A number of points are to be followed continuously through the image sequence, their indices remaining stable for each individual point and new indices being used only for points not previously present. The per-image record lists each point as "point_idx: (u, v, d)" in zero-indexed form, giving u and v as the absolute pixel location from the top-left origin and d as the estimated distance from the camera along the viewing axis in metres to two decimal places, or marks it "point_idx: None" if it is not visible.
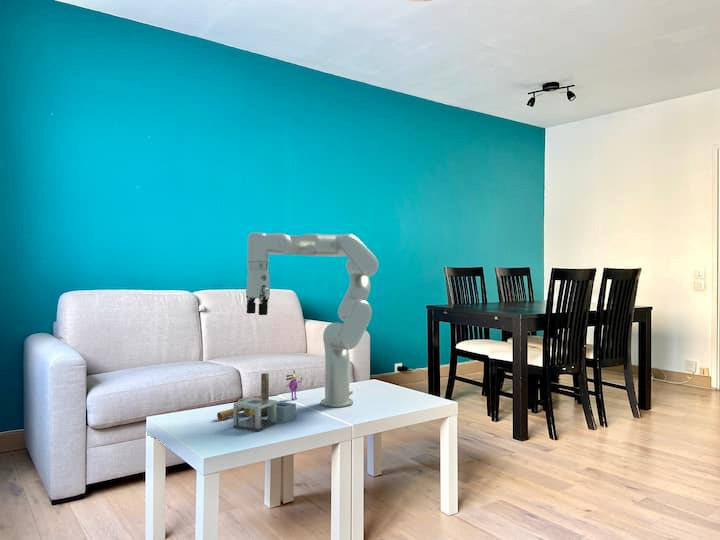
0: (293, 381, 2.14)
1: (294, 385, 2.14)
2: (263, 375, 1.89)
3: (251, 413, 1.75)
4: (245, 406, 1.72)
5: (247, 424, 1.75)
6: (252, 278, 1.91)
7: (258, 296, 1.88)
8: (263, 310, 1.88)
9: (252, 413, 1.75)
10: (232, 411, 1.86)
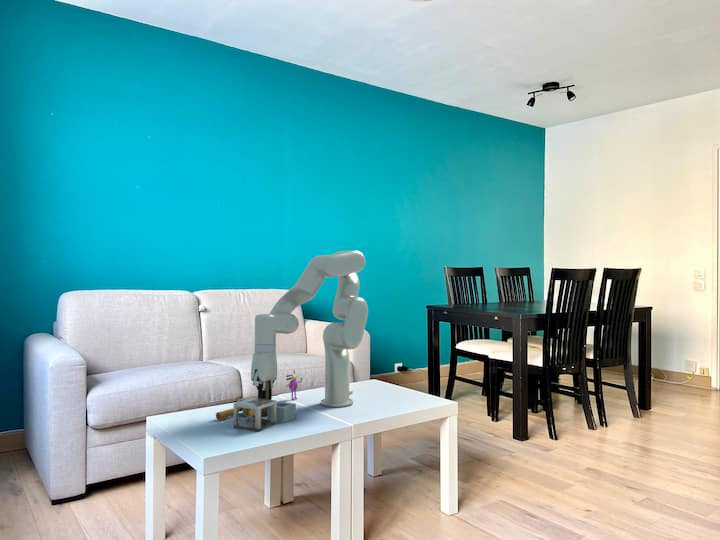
0: (293, 381, 2.14)
1: (294, 385, 2.14)
2: None
3: (251, 413, 1.75)
4: (245, 406, 1.72)
5: (247, 424, 1.75)
6: (272, 360, 1.90)
7: (276, 376, 1.93)
8: None
9: (252, 413, 1.75)
10: (231, 411, 1.86)
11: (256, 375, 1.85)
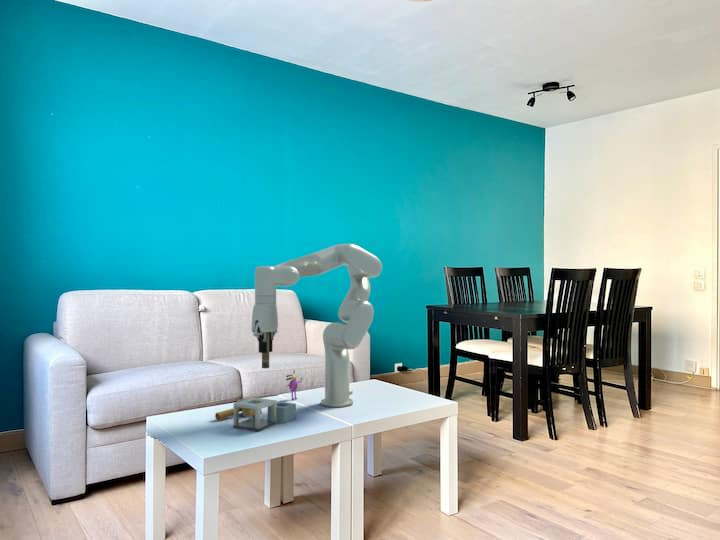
0: (293, 381, 2.14)
1: (294, 385, 2.14)
2: None
3: (251, 413, 1.75)
4: (245, 406, 1.72)
5: (247, 424, 1.75)
6: (272, 312, 1.90)
7: (276, 329, 1.93)
8: None
9: (252, 413, 1.75)
10: (230, 411, 1.86)
11: (256, 326, 1.86)
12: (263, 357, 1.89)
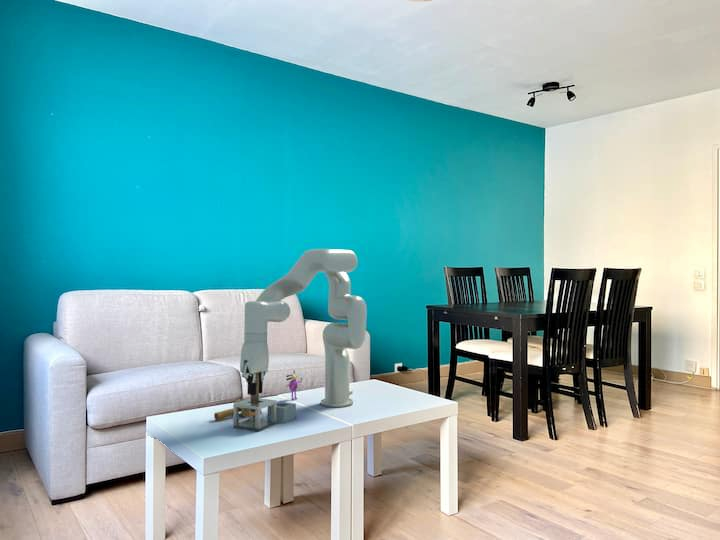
0: (293, 381, 2.14)
1: (294, 385, 2.14)
2: None
3: (251, 413, 1.75)
4: (245, 406, 1.72)
5: (247, 424, 1.75)
6: (263, 351, 1.77)
7: (267, 368, 1.80)
8: None
9: (252, 413, 1.75)
10: (229, 412, 1.85)
11: (245, 367, 1.72)
12: (252, 399, 1.76)
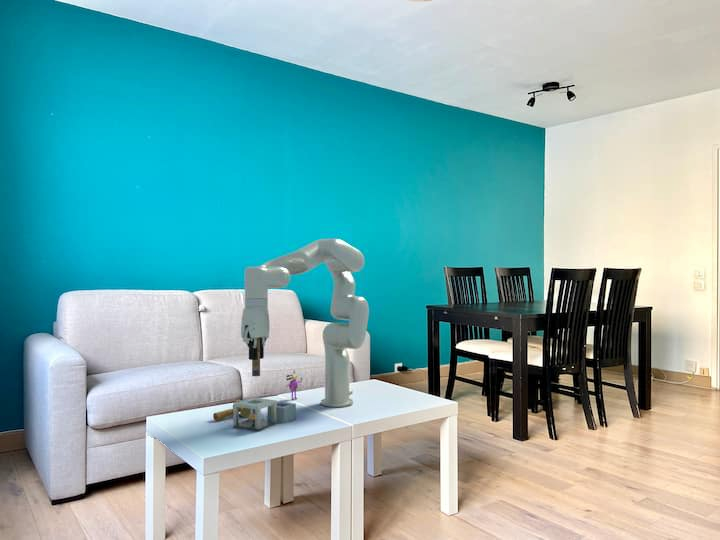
0: (293, 381, 2.14)
1: (294, 385, 2.14)
2: None
3: (251, 417, 1.75)
4: (245, 406, 1.72)
5: (247, 424, 1.75)
6: (264, 316, 1.77)
7: None
8: None
9: (252, 417, 1.75)
10: (228, 412, 1.85)
11: (246, 332, 1.73)
12: (253, 364, 1.76)
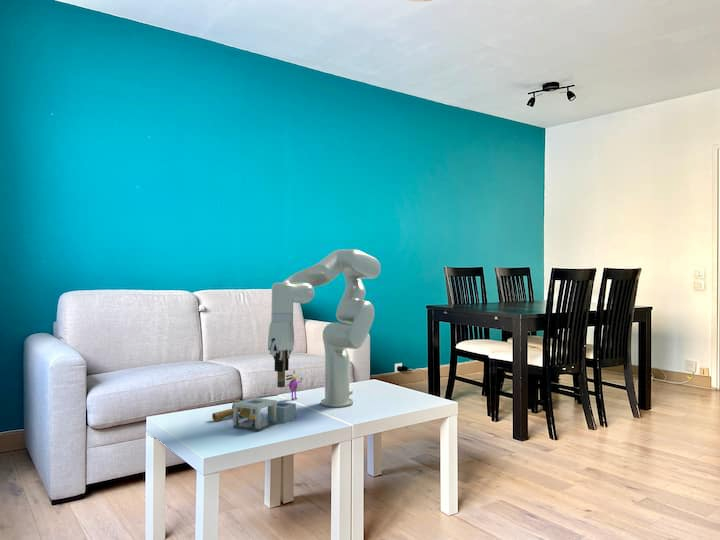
0: (293, 381, 2.14)
1: (294, 385, 2.14)
2: None
3: (251, 417, 1.75)
4: (245, 406, 1.72)
5: (247, 424, 1.75)
6: (289, 330, 1.85)
7: None
8: None
9: (252, 417, 1.75)
10: (227, 412, 1.85)
11: (273, 345, 1.81)
12: (279, 376, 1.84)
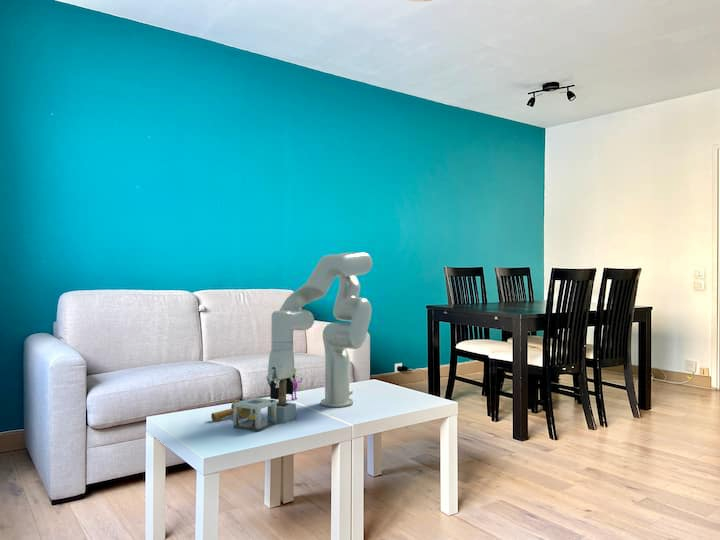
0: None
1: (294, 385, 2.14)
2: None
3: (251, 417, 1.75)
4: (245, 406, 1.72)
5: (247, 424, 1.75)
6: (289, 358, 1.85)
7: (293, 374, 1.89)
8: None
9: (252, 417, 1.75)
10: (226, 412, 1.84)
11: (271, 371, 1.80)
12: None
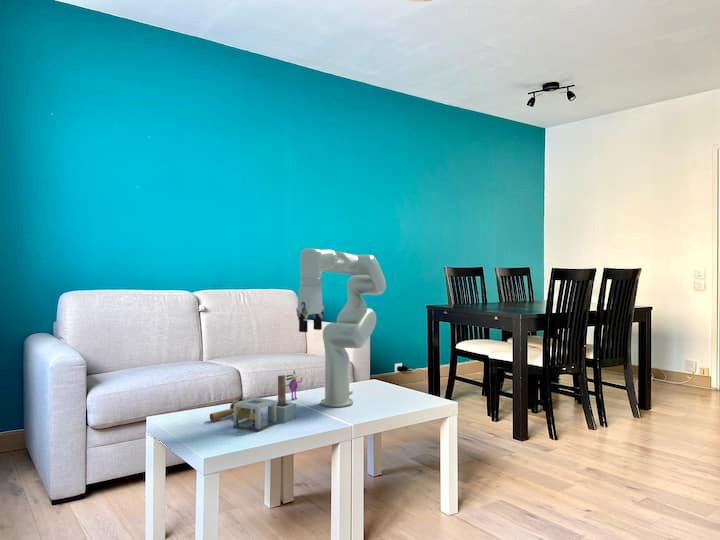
0: (293, 381, 2.14)
1: (294, 385, 2.14)
2: (280, 377, 1.84)
3: (251, 417, 1.75)
4: (245, 406, 1.72)
5: (247, 424, 1.75)
6: (318, 294, 1.91)
7: (321, 312, 1.94)
8: None
9: (252, 417, 1.75)
10: (225, 412, 1.84)
11: (301, 304, 1.86)
12: None
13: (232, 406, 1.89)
